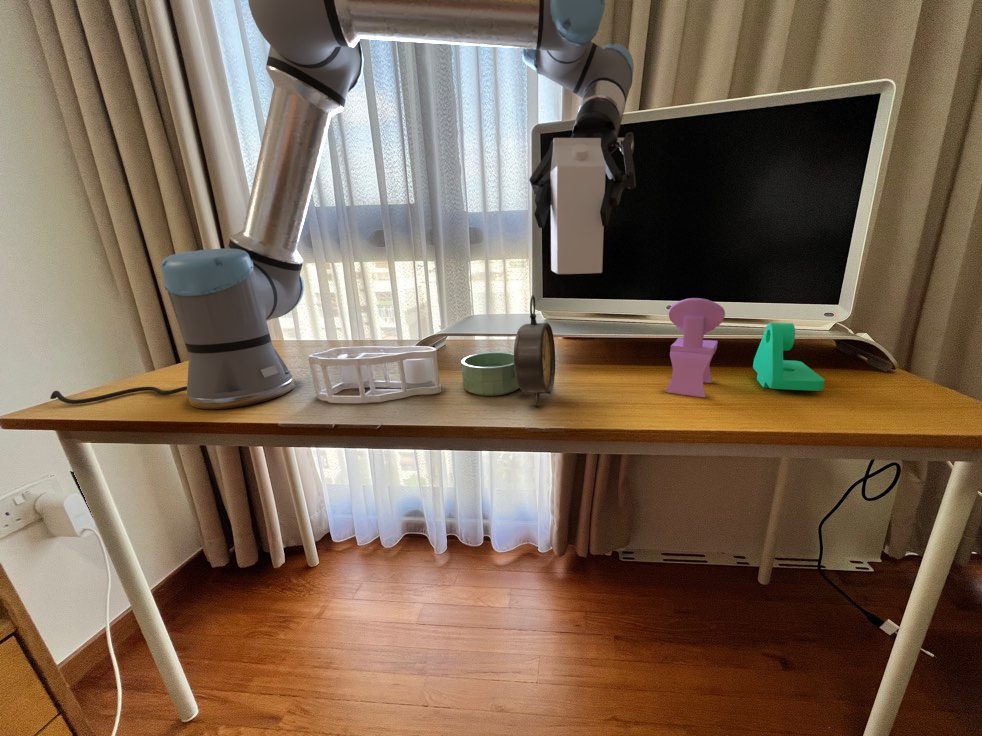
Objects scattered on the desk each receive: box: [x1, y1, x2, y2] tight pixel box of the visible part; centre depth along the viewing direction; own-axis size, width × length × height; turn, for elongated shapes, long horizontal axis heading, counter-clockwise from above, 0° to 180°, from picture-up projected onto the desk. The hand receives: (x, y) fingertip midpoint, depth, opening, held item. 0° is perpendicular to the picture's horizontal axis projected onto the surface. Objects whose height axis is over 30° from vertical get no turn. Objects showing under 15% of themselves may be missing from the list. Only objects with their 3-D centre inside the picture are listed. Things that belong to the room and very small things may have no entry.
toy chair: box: [665, 297, 726, 398], centre depth 70 cm, size 8×9×15 cm
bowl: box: [460, 351, 520, 397], centre depth 74 cm, size 10×10×5 cm
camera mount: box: [752, 322, 826, 392], centre depth 71 cm, size 12×8×10 cm, turn 168°
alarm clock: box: [513, 294, 556, 408], centre depth 66 cm, size 11×5×16 cm, turn 168°
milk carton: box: [550, 137, 606, 275], centre depth 66 cm, size 7×7×19 cm
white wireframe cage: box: [308, 345, 442, 404], centre depth 72 cm, size 20×11×7 cm, turn 85°
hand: (570, 220), depth 64 cm, fingers closed on milk carton, 9 cm apart
